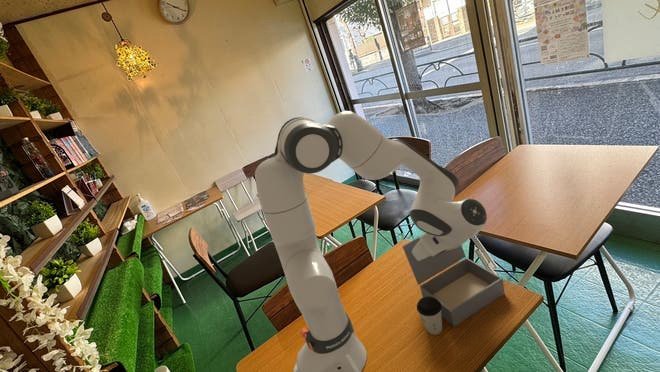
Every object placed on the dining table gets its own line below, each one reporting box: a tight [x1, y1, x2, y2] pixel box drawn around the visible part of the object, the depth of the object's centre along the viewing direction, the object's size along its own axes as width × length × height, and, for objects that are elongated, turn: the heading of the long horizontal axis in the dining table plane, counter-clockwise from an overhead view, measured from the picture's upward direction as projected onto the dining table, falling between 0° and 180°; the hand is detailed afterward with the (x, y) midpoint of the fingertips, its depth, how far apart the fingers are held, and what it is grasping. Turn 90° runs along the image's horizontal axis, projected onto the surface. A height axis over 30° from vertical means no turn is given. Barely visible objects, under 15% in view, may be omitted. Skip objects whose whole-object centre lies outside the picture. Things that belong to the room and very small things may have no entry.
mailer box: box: [419, 257, 506, 328], centre depth 98 cm, size 20×14×6 cm
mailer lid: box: [401, 233, 467, 285], centre depth 103 cm, size 20×14×1 cm
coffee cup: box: [416, 297, 443, 336], centre depth 90 cm, size 7×7×10 cm
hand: (434, 247), depth 102 cm, fingers closed, pressing on mailer lid
